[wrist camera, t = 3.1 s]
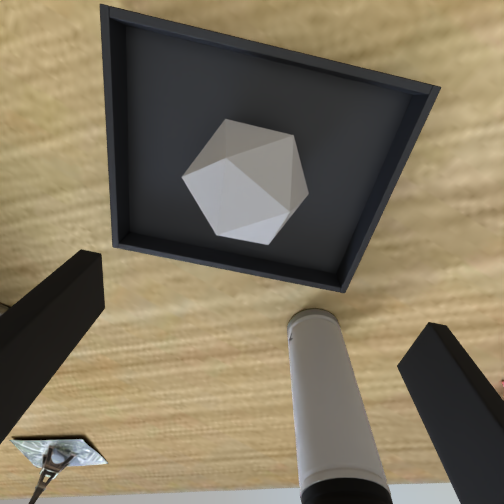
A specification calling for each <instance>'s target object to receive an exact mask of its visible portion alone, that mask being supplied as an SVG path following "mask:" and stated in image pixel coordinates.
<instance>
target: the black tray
mask: <svg viewBox="0 0 504 504" xmlns="http://www.w3.org/2000/svg"><path fill="white" fill-rule="evenodd" d="M100 21H101V40H102V59H103V78H104V96H105V115H106V134H107V152H108V171H109V190H110V209H111V227H112V246H113V247H114V248H120V249H125V250H130V251H135V252H140V253H145V254H150V255H155V256H160V257H165V258H170V259H175V260H180V261H185V262H190V263H195V264H200V265H205V266H210V267H215V268H220V269H225V270H230V271H235V272H240V273H245V274H250V275H255V276H260V277H265V278H270V279H275V280H280V281H285V282H290V283H295V284H300V285H305V286H310V287H315V288H320V289H325V290H331V291H336V292H340V293H345V292H346V290H347V288H348V286H349V284H350V282H351V280H352V277H353V275H354V273H355V271H356V269H357V267H358V265H359V262H360V260H361V258H362V256H363V254H364V252H365V250H366V248H367V245H368V243H369V241H370V239H371V237H372V235H373V233H374V230H375V228H376V226H377V224H378V222H379V220H380V218H381V215H382V213H383V211H384V209H385V207H386V205H387V203H388V200H389V198H390V196H391V194H392V192H393V190H394V188H395V186H396V183H397V181H398V179H399V177H400V175H401V173H402V171H403V168H404V166H405V164H406V162H407V160H408V158H409V156H410V153H411V151H412V149H413V147H414V145H415V143H416V141H417V139H418V136H419V134H420V132H421V130H422V128H423V126H424V124H425V121H426V119H427V117H428V115H429V113H430V111H431V109H432V106H433V104H434V102H435V100H436V98H437V96H438V94H439V91H440V89H441V87H439V86H435V85H431V84H427V83H423V82H419V81H415V80H411V79H407V78H402V77H398V76H394V75H390V74H386V73H382V72H378V71H374V70H370V69H366V68H361V67H357V66H353V65H349V64H345V63H341V62H337V61H333V60H329V59H325V58H321V57H316V56H312V55H308V54H304V53H300V52H296V51H292V50H288V49H284V48H280V47H276V46H271V45H267V44H263V43H259V42H255V41H251V40H247V39H243V38H239V37H235V36H230V35H226V34H222V33H218V32H214V31H210V30H206V29H202V28H198V27H194V26H190V25H185V24H181V23H177V22H173V21H169V20H165V19H161V18H157V17H153V16H149V15H145V14H140V13H136V12H132V11H128V10H124V9H120V8H116V7H112V6H108V5H104V4H100ZM225 119H228V120H232V121H236V122H240V123H245V124H249V125H253V126H257V127H261V128H265V129H269V130H274V131H278V132H282V133H286V134H290V135H294V138H295V142H296V146H297V150H298V154H299V158H300V162H301V166H302V169H303V173H304V177H305V181H306V185H307V189H308V193H309V194H308V196H307V197H306V198H305V199H304V201H303V202H302V203H301V204H300V206H299V207H298V208H297V209H296V211H295V212H294V213H293V214H292V216H291V217H290V218H289V219H288V221H287V222H286V223H285V225H284V226H283V227H282V228H281V230H280V231H279V232H278V233H277V235H276V236H275V237H274V238H273V240H272V241H271V242H270V243H269V245H266V244H261V243H255V242H250V241H245V240H240V239H234V238H229V237H224V236H219V235H216V233H215V232H214V230H213V228H212V227H211V225H210V224H209V222H208V220H207V219H206V217H205V215H204V214H203V212H202V210H201V209H200V207H199V205H198V204H197V202H196V200H195V199H194V197H193V195H192V194H191V192H190V190H189V189H188V187H187V185H186V184H185V182H184V180H183V179H182V176H183V175H184V173H185V172H186V171H187V169H188V168H189V167H190V165H191V164H192V163H193V161H194V160H195V159H196V157H197V156H198V155H199V153H200V152H201V151H202V149H203V148H204V147H205V145H206V144H207V143H208V141H209V140H210V139H211V137H212V136H213V135H214V133H215V132H216V131H217V129H218V128H219V127H220V125H221V124H222V123H223V121H224V120H225Z"/></svg>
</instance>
